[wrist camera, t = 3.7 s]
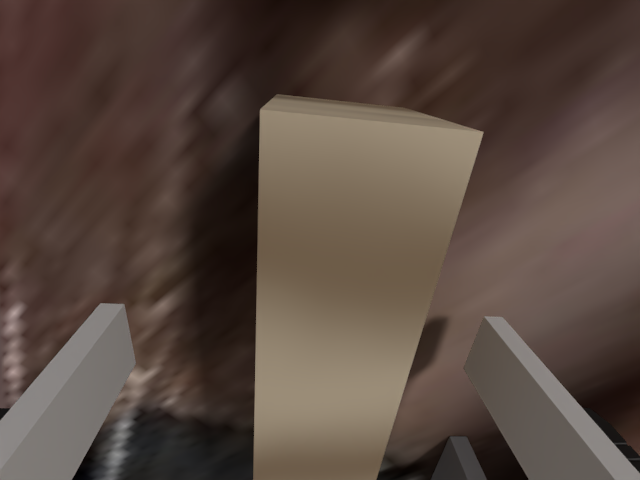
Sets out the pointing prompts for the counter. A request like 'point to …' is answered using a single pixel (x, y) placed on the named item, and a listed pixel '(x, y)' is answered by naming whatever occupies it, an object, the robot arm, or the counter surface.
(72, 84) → the counter surface
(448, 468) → the grey forked bracket
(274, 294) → the rail
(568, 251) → the counter surface
